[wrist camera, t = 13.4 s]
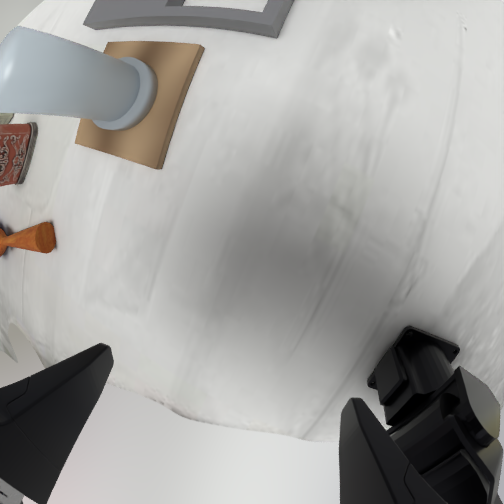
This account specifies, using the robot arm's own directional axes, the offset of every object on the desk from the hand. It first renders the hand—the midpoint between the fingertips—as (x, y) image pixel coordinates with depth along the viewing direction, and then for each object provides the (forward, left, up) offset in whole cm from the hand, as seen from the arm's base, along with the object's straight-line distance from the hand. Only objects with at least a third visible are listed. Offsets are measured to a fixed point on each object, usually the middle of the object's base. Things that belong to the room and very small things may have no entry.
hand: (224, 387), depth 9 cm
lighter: (+32, -1, -12) cm, 34 cm away
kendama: (+32, +10, -12) cm, 36 cm away
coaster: (+16, -9, -12) cm, 22 cm away
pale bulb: (+16, -9, -11) cm, 21 cm away
